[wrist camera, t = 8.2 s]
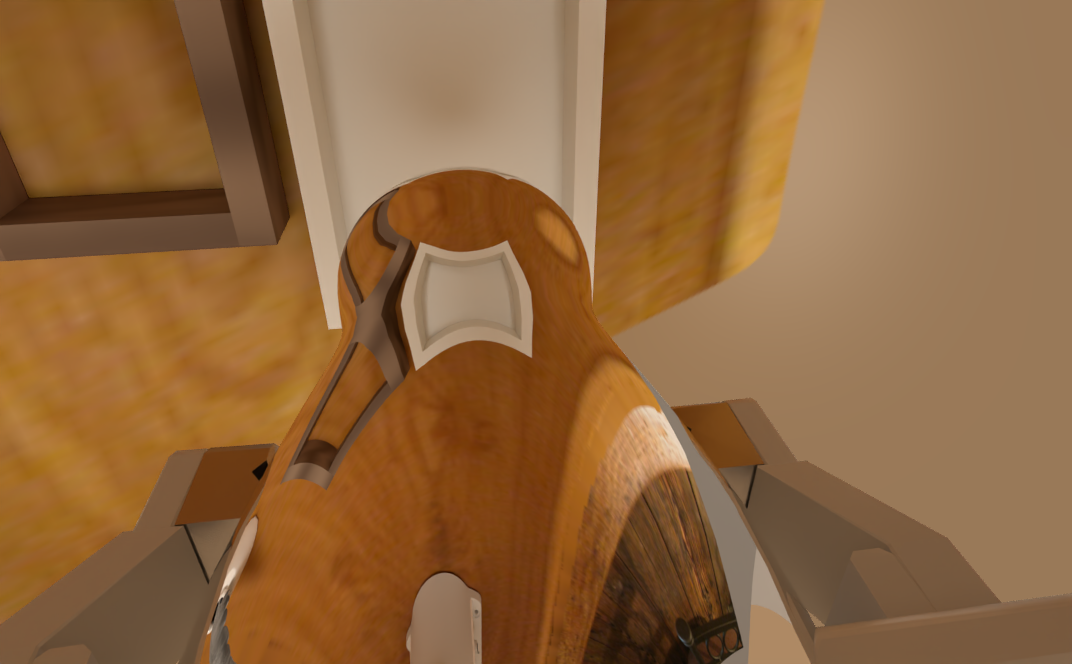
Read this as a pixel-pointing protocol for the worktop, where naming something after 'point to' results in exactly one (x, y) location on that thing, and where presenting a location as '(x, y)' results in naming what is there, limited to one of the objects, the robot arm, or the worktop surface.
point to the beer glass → (489, 473)
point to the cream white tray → (436, 103)
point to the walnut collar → (173, 216)
